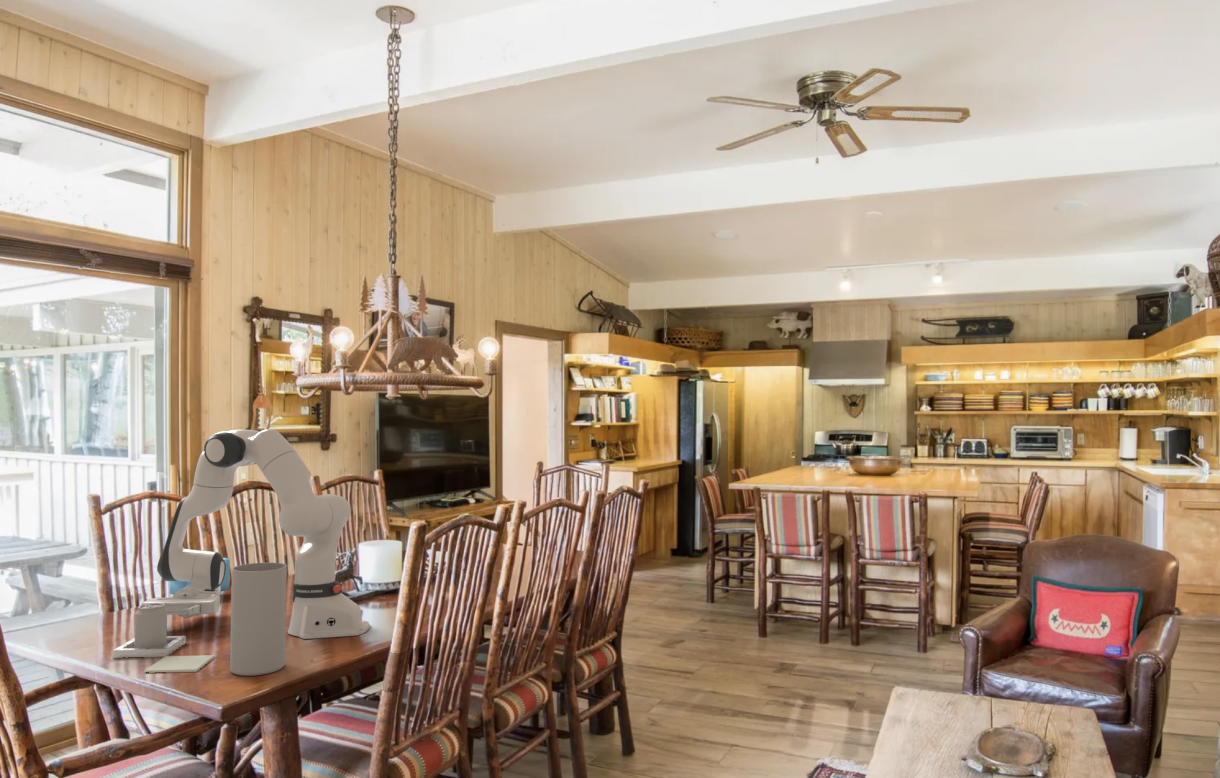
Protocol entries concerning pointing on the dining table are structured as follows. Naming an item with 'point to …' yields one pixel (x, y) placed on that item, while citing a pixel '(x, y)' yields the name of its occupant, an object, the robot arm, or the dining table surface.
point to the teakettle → (179, 585)
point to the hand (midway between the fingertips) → (169, 612)
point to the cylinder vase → (258, 618)
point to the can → (151, 626)
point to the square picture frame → (130, 651)
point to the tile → (180, 663)
